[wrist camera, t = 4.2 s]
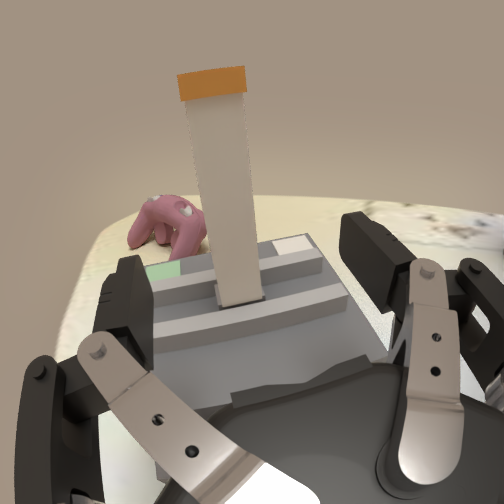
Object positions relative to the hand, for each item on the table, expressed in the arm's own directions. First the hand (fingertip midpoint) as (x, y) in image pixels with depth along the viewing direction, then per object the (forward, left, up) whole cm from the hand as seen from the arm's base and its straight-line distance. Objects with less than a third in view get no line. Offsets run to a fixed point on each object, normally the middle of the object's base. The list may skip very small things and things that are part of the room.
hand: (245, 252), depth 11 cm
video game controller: (+6, -19, -11) cm, 22 cm away
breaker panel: (0, -5, -11) cm, 12 cm away
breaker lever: (0, -5, -8) cm, 9 cm away
